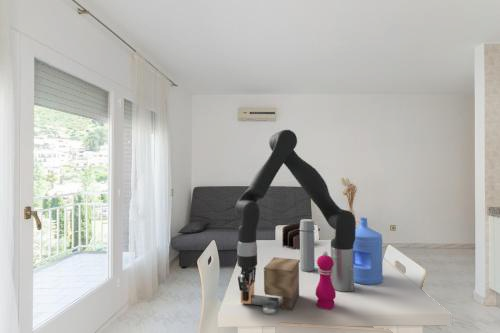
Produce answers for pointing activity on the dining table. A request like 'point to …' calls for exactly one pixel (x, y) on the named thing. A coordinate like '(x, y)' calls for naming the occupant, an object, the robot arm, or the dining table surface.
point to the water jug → (367, 255)
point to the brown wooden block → (282, 280)
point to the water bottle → (307, 245)
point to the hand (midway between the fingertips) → (247, 298)
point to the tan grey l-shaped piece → (259, 298)
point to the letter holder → (291, 236)
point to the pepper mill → (325, 282)
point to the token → (269, 309)
